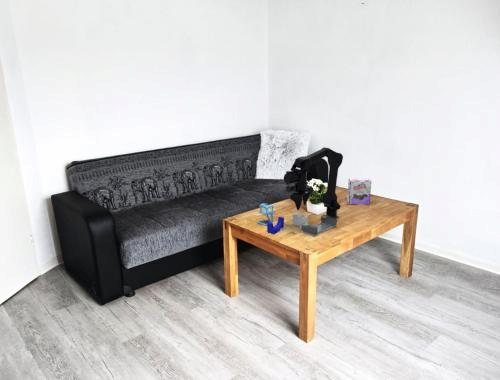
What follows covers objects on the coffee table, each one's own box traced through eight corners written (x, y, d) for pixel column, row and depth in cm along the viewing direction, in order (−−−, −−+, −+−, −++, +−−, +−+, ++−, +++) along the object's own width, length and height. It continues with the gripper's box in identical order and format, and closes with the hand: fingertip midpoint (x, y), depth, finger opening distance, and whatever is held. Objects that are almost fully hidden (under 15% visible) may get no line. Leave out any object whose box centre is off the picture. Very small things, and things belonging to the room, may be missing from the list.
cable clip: (273, 234, 220) (273, 224, 219) (267, 232, 223) (267, 222, 221) (286, 228, 229) (286, 218, 227) (279, 226, 232) (279, 216, 230)
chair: (276, 222, 237) (276, 203, 233) (266, 226, 231) (266, 206, 228) (267, 219, 242) (267, 200, 239) (256, 223, 237) (256, 203, 233)
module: (297, 222, 237) (297, 212, 235) (307, 225, 232) (308, 215, 230) (292, 224, 234) (292, 214, 233) (303, 227, 229) (303, 217, 227)
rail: (323, 222, 236) (323, 214, 234) (336, 226, 229) (336, 218, 228) (301, 232, 222) (301, 223, 221) (314, 236, 216) (314, 227, 215)
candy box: (348, 205, 265) (349, 180, 260) (346, 202, 271) (348, 178, 266) (369, 204, 265) (371, 180, 260) (367, 202, 270) (369, 178, 266)
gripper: (294, 175, 234) (294, 200, 239) (280, 183, 219) (281, 210, 224) (313, 177, 229) (312, 203, 234) (300, 185, 214) (299, 213, 218)
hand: (301, 207), depth 228 cm, fingers open, 9 cm apart
